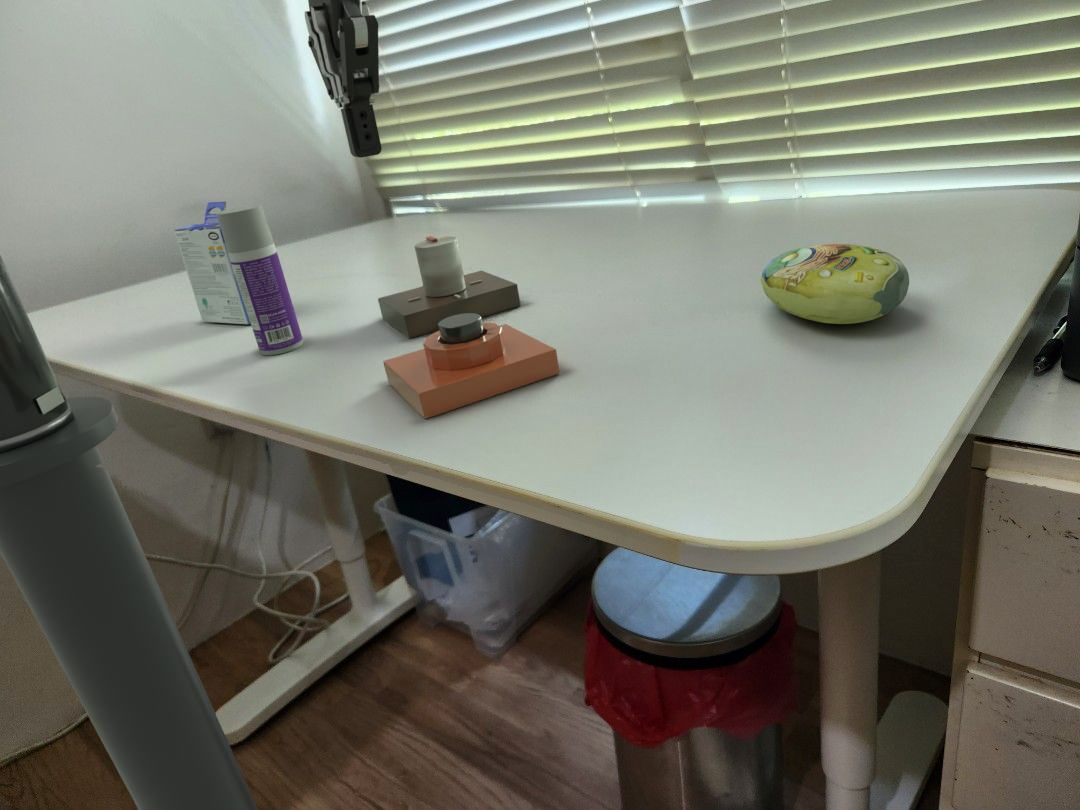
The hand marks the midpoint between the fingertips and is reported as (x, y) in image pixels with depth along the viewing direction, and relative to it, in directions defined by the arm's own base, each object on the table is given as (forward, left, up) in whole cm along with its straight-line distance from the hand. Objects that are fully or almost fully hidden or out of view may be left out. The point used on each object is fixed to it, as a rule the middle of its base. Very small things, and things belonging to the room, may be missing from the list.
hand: (367, 155), depth 60 cm
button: (+3, -5, -15) cm, 17 cm away
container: (-9, +21, -19) cm, 30 cm away
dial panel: (+9, +16, -19) cm, 26 cm away
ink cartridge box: (-11, +40, -19) cm, 45 cm away
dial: (+9, +16, -16) cm, 24 cm away
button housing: (+3, -5, -19) cm, 20 cm away
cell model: (+33, -16, -19) cm, 42 cm away
